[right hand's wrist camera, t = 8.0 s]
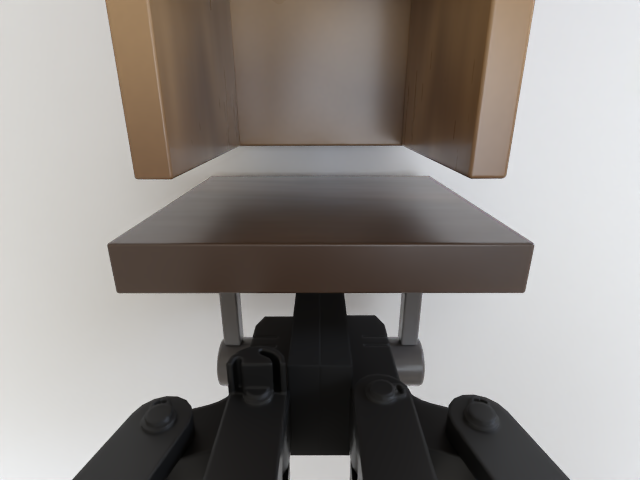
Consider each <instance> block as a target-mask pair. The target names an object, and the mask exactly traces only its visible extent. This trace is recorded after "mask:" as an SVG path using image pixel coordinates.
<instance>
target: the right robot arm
mask: <svg viewBox="0 0 640 480" xmlns="http://www.w3.org/2000/svg"><path fill="white" fill-rule="evenodd" d="M226 369H227V379H228V388H229V396H227V397H226V398H224V399H222V400H221V401H219V402H216V403H213V404H210V405H206V406H202V407H198V408H194V409H192V407H191V405H190V404H189V403H188V402H187V400H185V399H182V398H180V397H174V396H166V397H161V398H157V399H154V400H152V401H150V402H148V403H146V404H144V405H142V406H141V407H140V408H138V409H137V410H136V411H135V412H134V413H132V415H131V416H130V417H129V418H128V419H127V420H126V421H125V422H124V423H123V424H122V426H121V427H120V428H119V429H118V430H117V431H116V432H115V433H114V434H113V435H112V437H111V438H110V439H109V440H108V441H107V442H106V443H105V444H104V445H103V446H102V448H101V449H100V450H99V451H98V452H97V453H96V454H95V455H94V456H93V457H92V459H91V460H90V461H89V462H88V463H87V464H86V465H85V466H84V467H83V468H82V470H81V471H80V472H79V473H78V474H77V475H76V476H75V477H74V478H73V479H72V480H290V464H289V460H290V455H350V458H351V464H350V480H570V479H569V478H568V477H567V476H566V475H565V474H564V473H563V472H562V470H561V469H560V468H559V467H558V466H557V465H556V464H555V463H554V462H553V461H552V460H551V458H550V457H549V456H548V455H547V454H546V453H545V452H544V451H543V450H542V449H541V447H540V446H539V445H538V444H537V443H536V442H535V441H534V440H533V439H532V438H531V437H530V435H529V434H528V433H527V432H526V431H525V430H524V429H523V428H522V427H521V426H520V425H519V423H518V422H517V421H516V420H515V419H514V418H513V417H512V416H511V415H510V414H509V413H508V411H506V410H505V409H504V408H503V407H502V406H500V405H499V404H498V403H496V402H494V401H492V400H490V399H488V398H485V397H481V396H477V395H462V396H459V397H457V398H454V399H453V400H452V402H451V403H450V404H449V407H444V406H440V405H436V404H432V403H429V402H426V401H423V400H420V399H419V398H417V397H415V396H413V395H412V394H411V393H410V391H409V389H408V387H407V386H406V385H405V384H404V383H403V382H402V381H400V378H399V375H398V371H397V368H396V364H395V361H394V357H393V354H392V350H391V347H390V343H389V340H388V337H387V333H386V329H385V326H384V324H383V323H382V322H381V321H380V320H379V319H378V318H377V317H376V316H375V315H347V314H346V306H345V298H344V293H296V298H295V306H294V314H293V317H264V318H263V319H262V320H261V321H260V322H259V323H258V324H257V325H256V327H255V331H254V334H253V338H252V341H251V345H250V347H248V348H245V349H243V350H240V351H238V352H237V353H235V354H234V355H232V356H231V357H230V359H229V360H228V362H227V363H226Z"/></svg>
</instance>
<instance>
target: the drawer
mask: <svg viewBox="0 0 640 480" xmlns="http://www.w3.org/2000/svg"><path fill="white" fill-rule="evenodd" d="M105 1H106V7H107V13H108V19H109V25H110V31H111V37H112V43H113V49H114V55H115V61H116V67H117V73H118V79H119V85H120V91H121V97H122V103H123V109H124V115H125V121H126V127H127V133H128V139H129V145H130V151H131V157H132V163H133V169H134V175H135V178H136V179H173V178H175V177H177V176H179V175H181V174H183V173H185V172H187V171H189V170H191V169H193V168H195V167H197V166H199V165H201V164H203V163H205V162H207V161H209V160H212V159H214V158H216V157H218V156H220V155H222V154H224V153H226V152H228V151H230V150H232V149H234V148H236V147H238V146H404V147H407V148H409V149H411V150H413V151H415V152H417V153H419V154H421V155H423V156H425V157H427V158H429V159H431V160H433V161H435V162H438V163H440V164H442V165H444V166H446V167H448V168H450V169H452V170H454V171H456V172H458V173H460V174H462V175H464V176H466V177H469V178H471V179H502V178H504V177H506V174H507V168H508V161H509V155H510V149H511V143H512V137H513V131H514V125H515V119H516V113H517V107H518V101H519V95H520V89H521V83H522V77H523V70H524V64H525V58H526V52H527V46H528V40H529V34H530V28H531V22H532V16H533V10H534V4H535V0H105ZM533 250H534V243H532V242H531V241H529V240H528V239H526V238H525V237H523V236H522V235H520V234H519V233H517V232H515V231H514V230H512V229H511V228H509V227H508V226H506V225H505V224H503V223H501V222H500V221H498V220H497V219H495V218H494V217H492V216H491V215H489V214H487V213H486V212H484V211H483V210H481V209H480V208H478V207H477V206H475V205H474V204H472V203H470V202H469V201H467V200H466V199H464V198H463V197H461V196H460V195H458V194H456V193H455V192H453V191H452V190H450V189H449V188H447V187H446V186H444V185H443V184H441V183H439V182H438V181H436V180H435V179H433V178H432V177H430V176H212V177H210V178H209V179H207V180H206V181H204V182H202V183H201V184H199V185H198V186H196V187H195V188H193V189H192V190H190V191H189V192H187V193H185V194H184V195H182V196H181V197H179V198H178V199H176V200H175V201H173V202H172V203H170V204H169V205H167V206H165V207H164V208H162V209H161V210H159V211H158V212H156V213H155V214H153V215H152V216H150V217H148V218H147V219H145V220H144V221H142V222H141V223H139V224H138V225H136V226H135V227H133V228H132V229H130V230H128V231H127V232H125V233H124V234H122V235H121V236H119V237H118V238H116V239H115V240H113V241H111V242H110V243H108V251H109V256H110V261H111V266H112V271H113V276H114V280H115V285H116V290H117V293H219V295H220V305H221V315H222V324H223V334H224V339H223V340H222V342H221V345H220V348H219V352H218V360H217V375H218V380H219V383H220V384H221V385H223V386H228V379H227V369H226V363H227V362H228V360H229V359H230V357H231V356H232V355H234V354H235V353H237V352H238V351H240V350H243V349H245V348H248V347H250V345H251V341H252V338H253V337H243V326H242V314H241V301H240V293H402V295H401V308H400V320H399V333H398V337H388V340H389V343H390V347H391V350H392V354H393V357H394V361H395V364H396V368H397V371H398V375H399V378H400V381H402V382H403V383H404V384H405V385H406V386H419V385H421V384H422V382H423V379H424V371H425V364H424V354H423V349H422V346H421V343H420V341H419V339H418V330H419V320H420V310H421V300H422V293H524V292H525V289H526V284H527V279H528V274H529V269H530V264H531V259H532V255H533Z"/></svg>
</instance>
